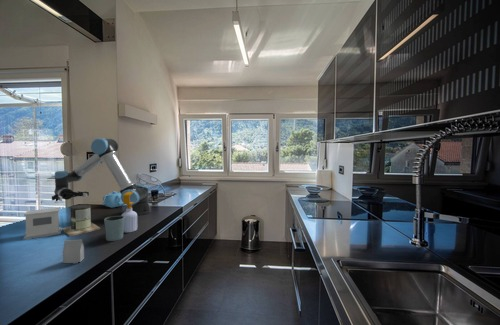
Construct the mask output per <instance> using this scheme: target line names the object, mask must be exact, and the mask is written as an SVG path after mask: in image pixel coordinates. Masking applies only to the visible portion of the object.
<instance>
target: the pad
mask: <svg viewBox="0 0 500 325" xmlns="http://www.w3.org/2000/svg"><path fill="white" fill-rule="evenodd" d="M99 230H101V227H100V226H98V225H97V224H95V223H93V222H91V227H90V228H88V229H85V230H80V231H72V230H71V226H69V227H64V228H63V227H61V231H63V232H64V233H65V234H66V235H67V236H68V237H71V236H72V237H73V236H78V235H81V234H85V233H90V232H94V231H99Z"/></svg>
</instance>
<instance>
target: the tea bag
mask: <svg viewBox="0 0 500 325" xmlns="http://www.w3.org/2000/svg"><path fill="white" fill-rule="evenodd" d="M83 259H84V260H85V245H84V242H83V239H69V240H64V243H63V248H62V264H63V263H73V264H79V263H78V262H81V261H82V260H83ZM84 260H83V261H84ZM83 261H82V262H83ZM82 262H81V263H82Z"/></svg>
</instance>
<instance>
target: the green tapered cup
mask: <svg viewBox="0 0 500 325" xmlns="http://www.w3.org/2000/svg"><path fill="white" fill-rule="evenodd" d="M103 221H104V228H105V231H104V232H105V239H106V241H107V242H116V241H119V240H120V241H121V240H122V239H123V238H124V232H123V229H124V228H123V227H124V216H121V215H112V216H107V217H105V218H104V220H103Z"/></svg>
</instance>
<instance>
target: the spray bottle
mask: <svg viewBox="0 0 500 325" xmlns="http://www.w3.org/2000/svg"><path fill="white" fill-rule="evenodd" d="M132 193H133V192H126V193H125V194H124V195H123V203H124V204H123V205H126V208H125V209H126V210H125V211H124V212H123V213H122V214H121V215H120V216H124V227H123V228H124V229H123V233H133V232H135V231H137V230H138V215H137V213H136V212H134V211H132V203H134V202H130V195H131V194H132Z"/></svg>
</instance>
